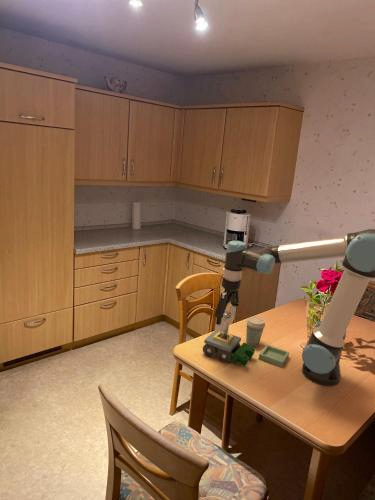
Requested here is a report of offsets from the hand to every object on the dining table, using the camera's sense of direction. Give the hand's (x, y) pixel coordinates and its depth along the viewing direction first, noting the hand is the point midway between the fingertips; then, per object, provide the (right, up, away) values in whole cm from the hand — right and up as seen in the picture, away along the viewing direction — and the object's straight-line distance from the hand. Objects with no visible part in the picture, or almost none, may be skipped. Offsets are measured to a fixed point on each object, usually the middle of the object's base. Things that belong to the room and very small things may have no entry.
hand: (224, 325), depth 158 cm
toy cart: (-1, -13, +4) cm, 14 cm away
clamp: (+7, -16, 0) cm, 17 cm away
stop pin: (0, -6, +2) cm, 6 cm away
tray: (+22, -16, +5) cm, 27 cm away
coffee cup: (+14, -12, +15) cm, 24 cm away
